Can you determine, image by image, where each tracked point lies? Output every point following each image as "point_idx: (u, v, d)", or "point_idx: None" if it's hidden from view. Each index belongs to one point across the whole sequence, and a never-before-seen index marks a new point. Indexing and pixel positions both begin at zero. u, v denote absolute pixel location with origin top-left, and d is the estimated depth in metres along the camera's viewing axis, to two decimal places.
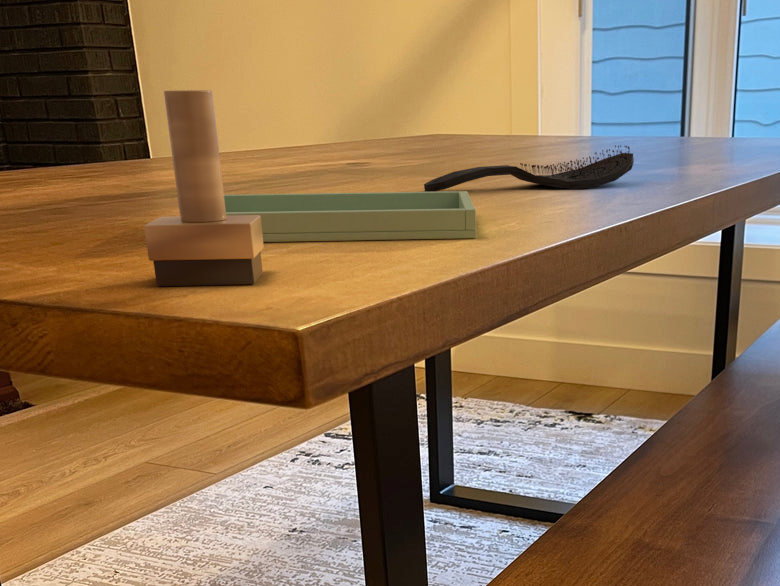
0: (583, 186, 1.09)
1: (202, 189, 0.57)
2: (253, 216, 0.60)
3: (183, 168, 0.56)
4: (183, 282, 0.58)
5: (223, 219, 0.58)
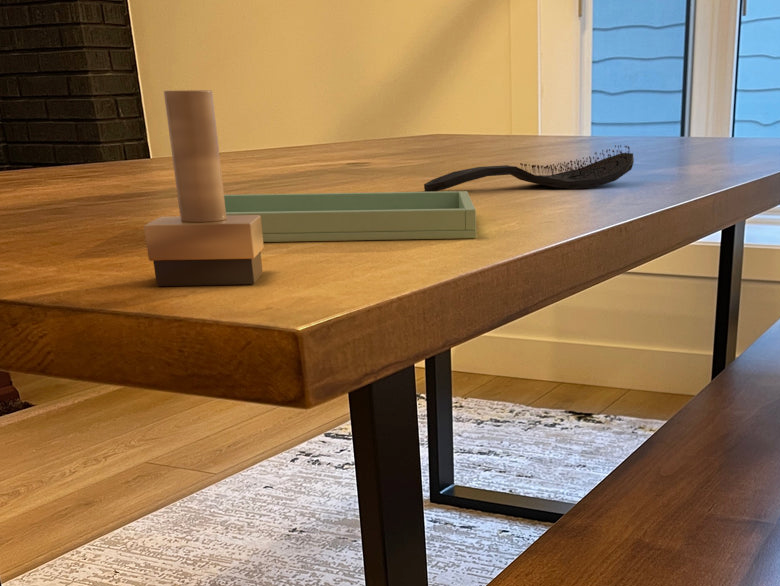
0: (583, 186, 1.09)
1: (202, 189, 0.57)
2: (253, 216, 0.60)
3: (183, 168, 0.56)
4: (183, 282, 0.58)
5: (223, 219, 0.58)
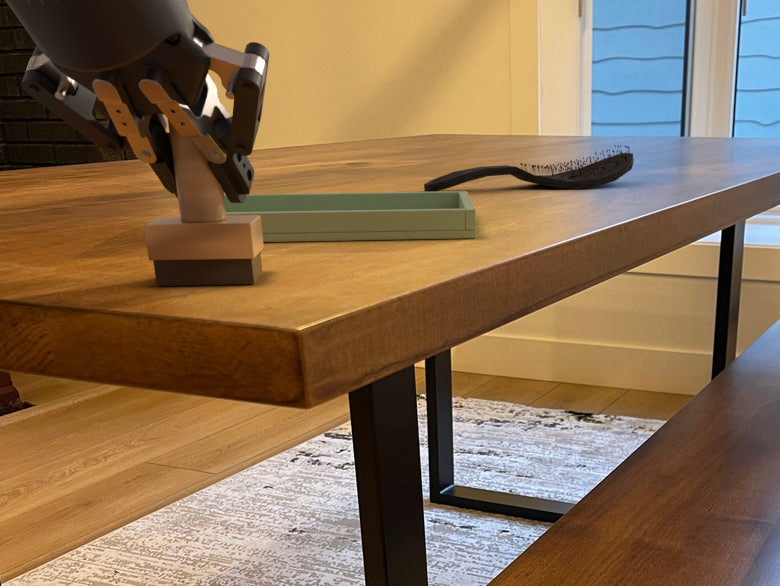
0: (583, 186, 1.09)
1: (202, 189, 0.57)
2: (253, 216, 0.60)
3: (183, 168, 0.56)
4: (183, 282, 0.58)
5: (223, 219, 0.58)
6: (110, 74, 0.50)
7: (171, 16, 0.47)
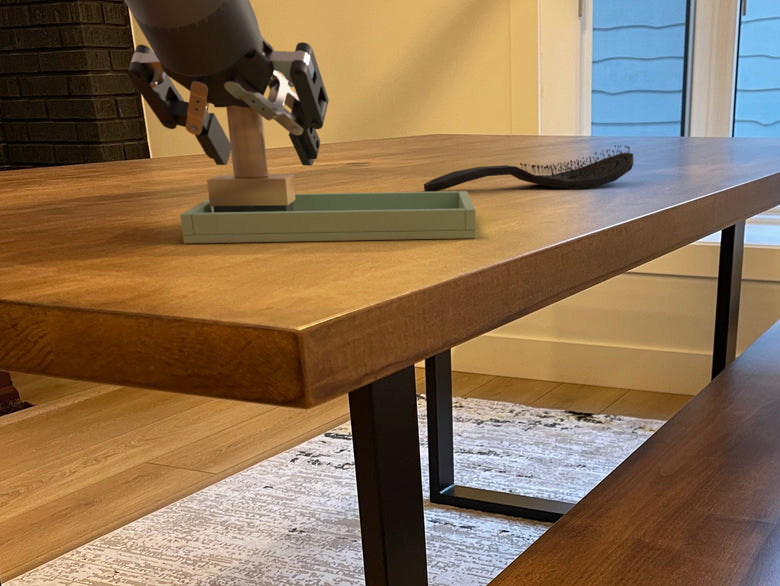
0: (583, 186, 1.09)
1: (250, 153, 0.76)
2: (288, 175, 0.79)
3: (236, 137, 0.76)
4: None
5: (265, 176, 0.78)
6: (204, 78, 0.72)
7: (250, 38, 0.69)
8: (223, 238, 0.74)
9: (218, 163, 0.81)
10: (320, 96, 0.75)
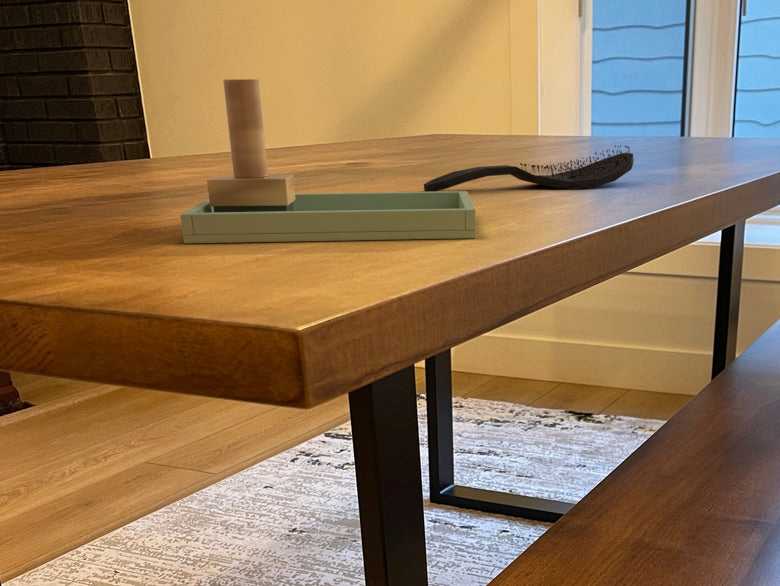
0: (583, 186, 1.09)
1: (250, 153, 0.76)
2: (288, 175, 0.79)
3: (236, 137, 0.76)
4: None
5: (265, 176, 0.78)
6: None
7: None
8: (223, 238, 0.74)
9: None
10: None
